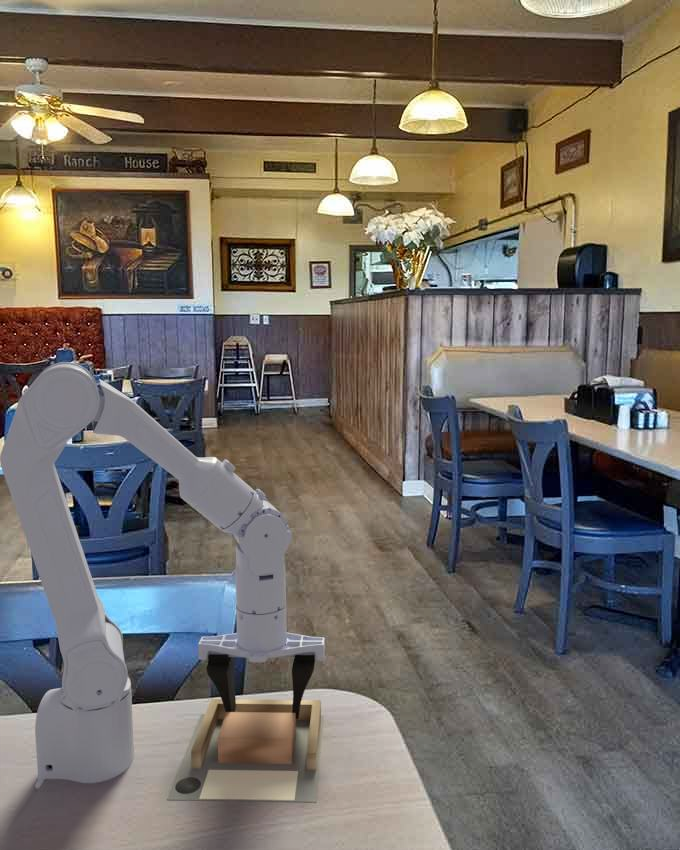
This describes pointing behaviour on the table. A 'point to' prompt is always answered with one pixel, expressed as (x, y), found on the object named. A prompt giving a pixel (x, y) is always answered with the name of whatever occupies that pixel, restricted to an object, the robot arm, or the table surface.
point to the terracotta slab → (257, 738)
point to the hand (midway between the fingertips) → (263, 714)
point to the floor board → (248, 774)
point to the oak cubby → (217, 711)
